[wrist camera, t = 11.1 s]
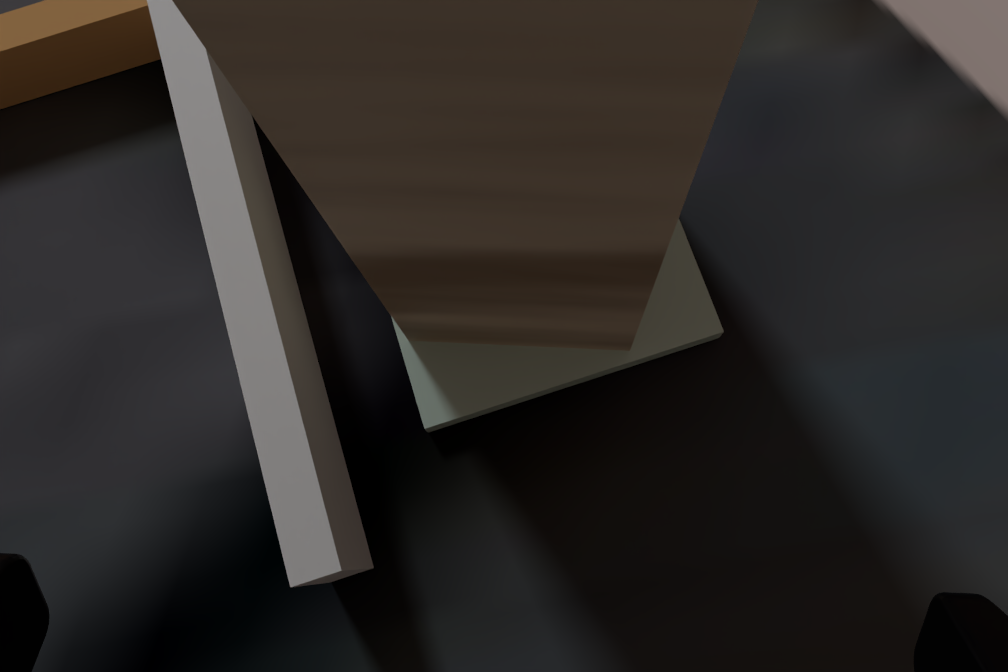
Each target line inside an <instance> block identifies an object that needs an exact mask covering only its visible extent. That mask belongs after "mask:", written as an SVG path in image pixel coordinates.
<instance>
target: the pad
mask: <svg viewBox="0 0 1008 672" xmlns="http://www.w3.org/2000/svg"><path fill="white" fill-rule="evenodd" d="M391 317H392V316H391ZM392 321H393V324H394V327H395V331H396V334H397V338H398V341H399V344H400V348H401V351H402V354H403V358H404V361H405V365H406V368H407V371H408V375H409V378H410V381H411V385H412V388H413V392H414V395H415V398H416V402H417V405H418V408H419V412H420V415H421V419H422V422H423V425H424V429H425V430H426V431H427V432H428V433H429V432H432V431H435V430H438V429H441V428H444V427H447V426H450V425H453V424H456V423H459V422H462V421H465V420H468V419H472V418H475V417H478V416H481V415H484V414H487V413H490V412H493V411H496V410H499V409H502V408H505V407H508V406H512V405H515V404H518V403H521V402H524V401H527V400H530V399H533V398H536V397H539V396H542V395H545V394H548V393H551V392H555V391H558V390H561V389H564V388H567V387H570V386H573V385H576V384H579V383H582V382H585V381H588V380H591V379H595V378H598V377H601V376H604V375H607V374H610V373H613V372H616V371H619V370H622V369H625V368H628V367H631V366H634V365H638V364H641V363H644V362H647V361H650V360H653V359H656V358H659V357H662V356H665V355H668V354H671V353H674V352H677V351H681V350H684V349H687V348H690V347H693V346H696V345H699V344H702V343H705V342H708V341H711V340H714V339H717V338H719V337H720V336H721V335H722V333H723V332H724V331H723V328H722V326H721V323H720V321H719V318H718V315H717V313H716V310H715V308H714V305H713V303H712V300H711V298H710V295H709V293H708V290H707V288H706V285H705V283H704V280H703V278H702V275H701V273H700V270H699V268H698V265H697V263H696V260H695V258H694V255H693V253H692V250H691V248H690V245H689V243H688V240H687V238H686V235H685V232H684V230H683V227H682V225H681V222H680V220H679V218H678V221H677V224H676V227H675V229H674V232H673V235H672V237H671V240H670V243H669V246H668V248H667V251H666V254H665V257H664V259H663V262H662V265H661V267H660V270H659V273H658V276H657V278H656V281H655V284H654V287H653V289H652V292H651V295H650V298H649V300H648V303H647V306H646V308H645V311H644V314H643V317H642V319H641V322H640V325H639V328H638V330H637V333H636V336H635V338H634V341H633V344H632V347H631V349H630V351H625V350H603V349H581V348H559V347H537V346H515V345H493V344H472V343H450V342H428V341H408V339H407V338H406V336H405V335H404V334H403V332H402V331H401V329H400V328H399V326H398V325H397V323H396V322H395V321H394V319H393V318H392Z"/></svg>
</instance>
